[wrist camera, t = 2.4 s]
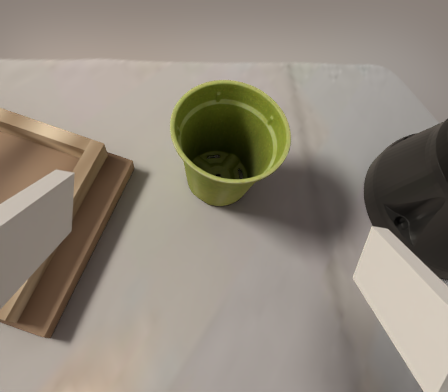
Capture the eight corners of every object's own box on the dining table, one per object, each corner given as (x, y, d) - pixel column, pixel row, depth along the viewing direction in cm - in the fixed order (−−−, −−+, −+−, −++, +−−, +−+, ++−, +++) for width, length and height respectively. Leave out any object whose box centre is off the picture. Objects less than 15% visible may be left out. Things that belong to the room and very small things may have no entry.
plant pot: (251, 133, 38) (272, 75, 30) (275, 214, 34) (306, 173, 26) (164, 143, 36) (161, 84, 28) (179, 230, 32) (181, 191, 24)
